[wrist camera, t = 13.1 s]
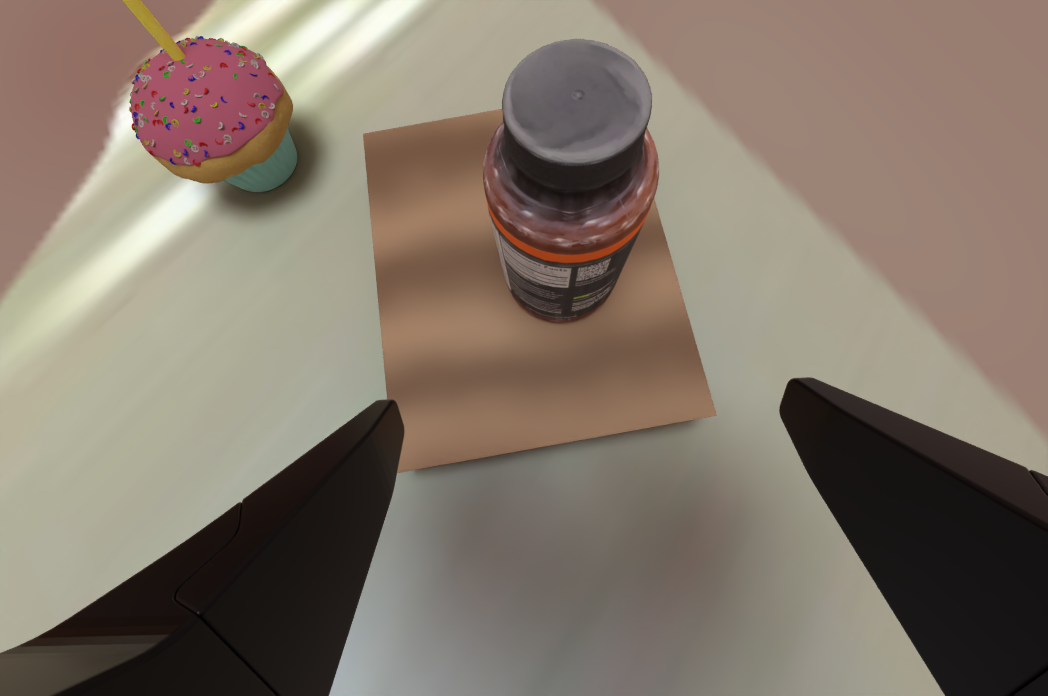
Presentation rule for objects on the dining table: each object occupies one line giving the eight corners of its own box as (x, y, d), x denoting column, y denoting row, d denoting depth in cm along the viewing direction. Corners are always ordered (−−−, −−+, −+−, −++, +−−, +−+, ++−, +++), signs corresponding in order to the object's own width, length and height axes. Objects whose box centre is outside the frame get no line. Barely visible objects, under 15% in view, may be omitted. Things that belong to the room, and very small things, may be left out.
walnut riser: (693, 419, 22) (716, 415, 19) (413, 469, 22) (394, 473, 19) (613, 126, 27) (622, 87, 24) (382, 167, 27) (363, 133, 24)
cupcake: (205, 125, 28) (-31, -97, 17) (321, 101, 28) (167, -137, 17) (207, 230, 26) (-60, 62, 15) (332, 204, 26) (166, 15, 15)
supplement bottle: (553, 204, 22) (567, -28, 11) (637, 267, 21) (742, 79, 10) (481, 278, 21) (419, 105, 10) (565, 349, 20) (594, 239, 9)
